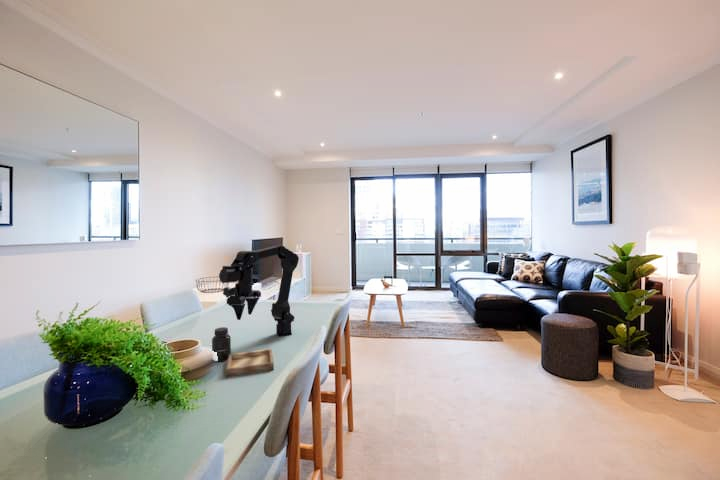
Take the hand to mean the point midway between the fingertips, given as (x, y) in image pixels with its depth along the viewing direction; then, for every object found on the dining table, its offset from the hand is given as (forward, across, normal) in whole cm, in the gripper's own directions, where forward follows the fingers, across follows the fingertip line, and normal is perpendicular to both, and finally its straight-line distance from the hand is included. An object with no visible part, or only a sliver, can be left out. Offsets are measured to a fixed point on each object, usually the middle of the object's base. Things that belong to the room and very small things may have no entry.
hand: (244, 317), depth 133 cm
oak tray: (+14, +14, +10) cm, 23 cm away
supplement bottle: (+14, +10, -4) cm, 18 cm away
